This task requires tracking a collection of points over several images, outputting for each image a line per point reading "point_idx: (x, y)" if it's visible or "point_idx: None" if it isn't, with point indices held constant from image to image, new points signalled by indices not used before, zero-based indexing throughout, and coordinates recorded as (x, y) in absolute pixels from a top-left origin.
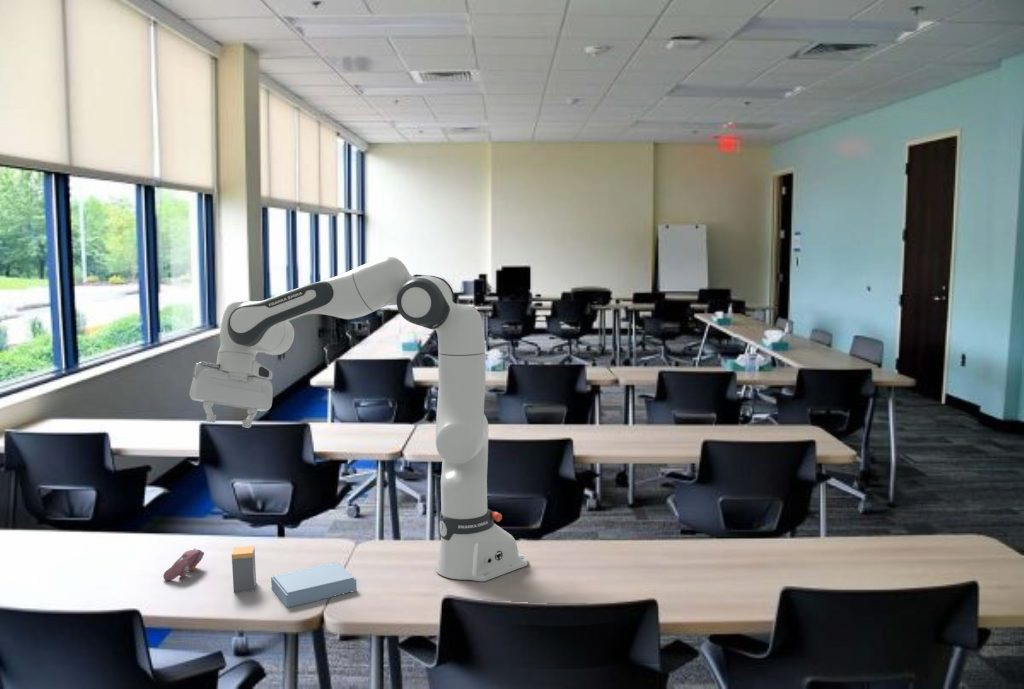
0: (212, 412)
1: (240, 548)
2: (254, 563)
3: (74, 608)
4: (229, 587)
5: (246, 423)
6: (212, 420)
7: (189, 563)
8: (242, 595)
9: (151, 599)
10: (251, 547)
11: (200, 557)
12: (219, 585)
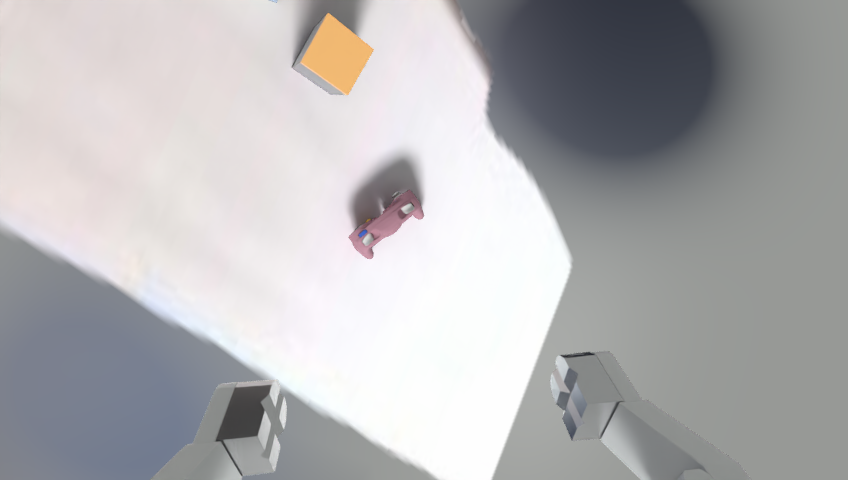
0: (638, 412)
1: (338, 74)
2: (304, 50)
3: (539, 196)
4: None
5: (264, 398)
6: (589, 355)
7: (390, 204)
8: None
9: (464, 147)
10: (312, 56)
11: (359, 226)
12: (357, 117)
